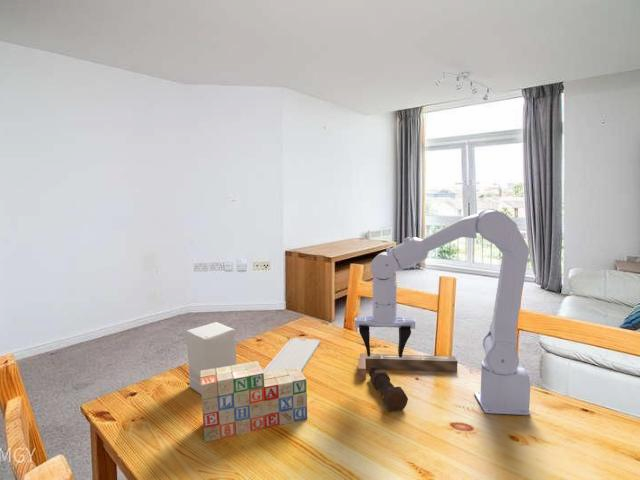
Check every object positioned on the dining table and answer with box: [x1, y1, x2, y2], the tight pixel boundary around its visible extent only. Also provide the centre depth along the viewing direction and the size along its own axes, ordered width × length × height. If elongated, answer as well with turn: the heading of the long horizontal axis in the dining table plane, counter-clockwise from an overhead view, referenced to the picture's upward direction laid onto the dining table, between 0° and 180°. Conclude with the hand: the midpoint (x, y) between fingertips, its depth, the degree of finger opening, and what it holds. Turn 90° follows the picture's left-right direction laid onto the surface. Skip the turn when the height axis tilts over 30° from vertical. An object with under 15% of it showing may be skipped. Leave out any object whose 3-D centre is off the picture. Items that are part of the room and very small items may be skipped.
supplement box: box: [185, 321, 238, 395], centre depth 92 cm, size 9×9×15 cm
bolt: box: [368, 367, 409, 413], centre depth 88 cm, size 6×5×15 cm
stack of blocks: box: [200, 360, 308, 442], centre depth 77 cm, size 21×6×12 cm, turn 109°
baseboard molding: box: [262, 334, 322, 373], centre depth 106 cm, size 31×3×12 cm
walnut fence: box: [357, 353, 458, 380], centre depth 98 cm, size 26×9×3 cm, turn 84°
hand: (384, 355), depth 90 cm, fingers open, 7 cm apart
